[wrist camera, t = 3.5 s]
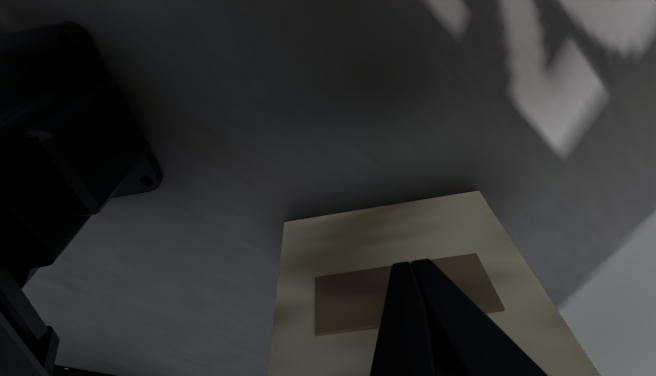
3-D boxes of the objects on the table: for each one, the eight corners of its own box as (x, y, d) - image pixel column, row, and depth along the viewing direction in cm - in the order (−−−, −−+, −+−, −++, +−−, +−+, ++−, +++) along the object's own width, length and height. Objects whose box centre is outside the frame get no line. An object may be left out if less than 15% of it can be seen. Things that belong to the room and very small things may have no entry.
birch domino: (298, 265, 19) (288, 480, 11) (283, 219, 17) (259, 437, 9) (475, 238, 18) (588, 448, 11) (478, 187, 16) (617, 395, 9)
